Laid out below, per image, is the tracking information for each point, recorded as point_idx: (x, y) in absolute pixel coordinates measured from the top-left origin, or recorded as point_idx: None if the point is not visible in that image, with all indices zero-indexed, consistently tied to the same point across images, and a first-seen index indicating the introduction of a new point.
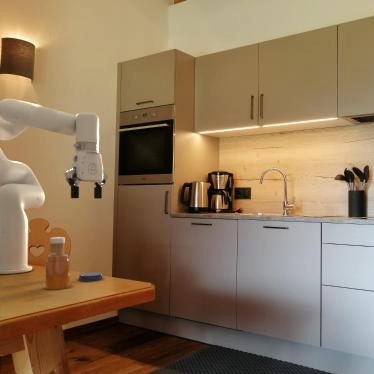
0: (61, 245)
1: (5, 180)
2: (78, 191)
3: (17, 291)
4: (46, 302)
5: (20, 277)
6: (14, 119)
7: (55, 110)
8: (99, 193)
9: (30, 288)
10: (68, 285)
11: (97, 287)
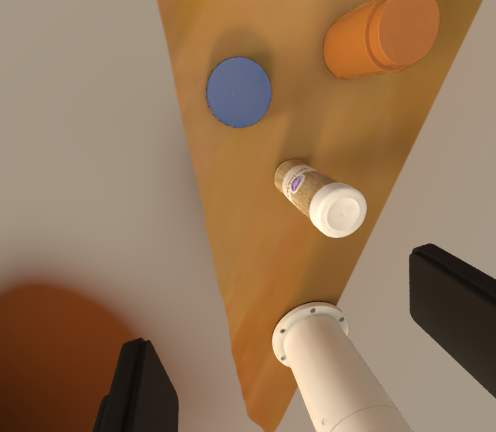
0: (328, 183)
1: None
2: (476, 279)
3: (421, 78)
4: None
5: (333, 251)
6: None
7: None
8: (143, 390)
9: (389, 92)
10: (337, 20)
11: None
